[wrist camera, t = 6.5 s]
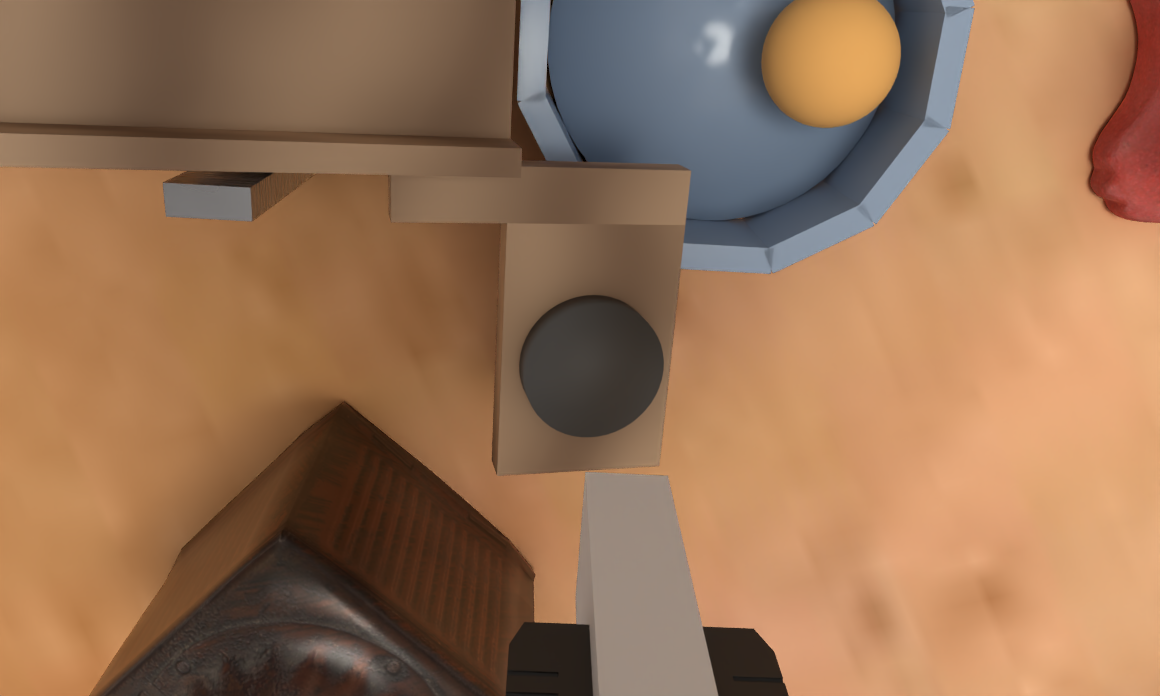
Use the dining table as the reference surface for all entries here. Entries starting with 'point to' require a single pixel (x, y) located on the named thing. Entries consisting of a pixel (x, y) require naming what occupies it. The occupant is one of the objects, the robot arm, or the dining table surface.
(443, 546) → the brown manual coffee grinder
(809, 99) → the ball
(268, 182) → the stand
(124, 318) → the dining table surface
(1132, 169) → the stacking bear
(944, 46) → the bowl
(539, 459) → the lever
